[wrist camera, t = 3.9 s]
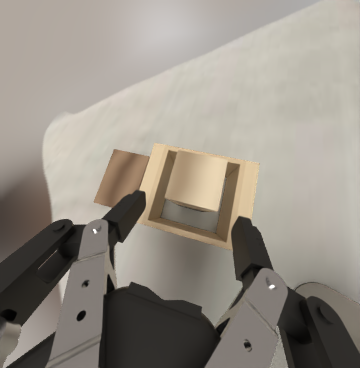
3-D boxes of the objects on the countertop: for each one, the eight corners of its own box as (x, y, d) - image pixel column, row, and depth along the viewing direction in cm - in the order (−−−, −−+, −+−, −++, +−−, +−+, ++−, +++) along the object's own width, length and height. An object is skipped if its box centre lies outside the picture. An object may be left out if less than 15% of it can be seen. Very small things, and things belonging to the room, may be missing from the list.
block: (207, 189, 28) (227, 159, 12) (202, 211, 27) (217, 211, 11) (185, 184, 28) (178, 150, 13) (179, 205, 27) (164, 197, 12)
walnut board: (151, 159, 30) (149, 156, 29) (133, 212, 28) (130, 212, 27) (117, 152, 32) (114, 149, 30) (98, 202, 29) (93, 202, 28)
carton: (240, 177, 28) (259, 163, 20) (229, 241, 25) (246, 254, 17) (164, 160, 30) (154, 142, 22) (146, 218, 27) (129, 220, 20)
